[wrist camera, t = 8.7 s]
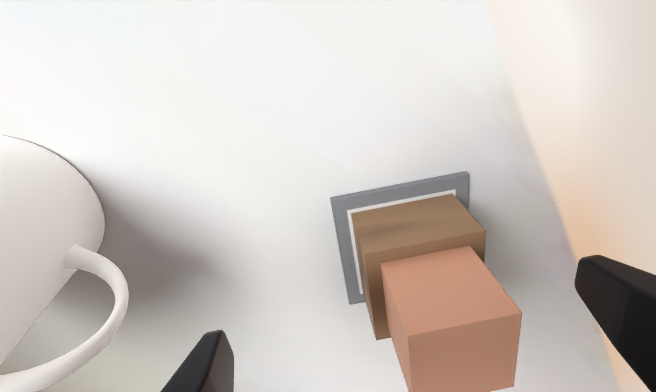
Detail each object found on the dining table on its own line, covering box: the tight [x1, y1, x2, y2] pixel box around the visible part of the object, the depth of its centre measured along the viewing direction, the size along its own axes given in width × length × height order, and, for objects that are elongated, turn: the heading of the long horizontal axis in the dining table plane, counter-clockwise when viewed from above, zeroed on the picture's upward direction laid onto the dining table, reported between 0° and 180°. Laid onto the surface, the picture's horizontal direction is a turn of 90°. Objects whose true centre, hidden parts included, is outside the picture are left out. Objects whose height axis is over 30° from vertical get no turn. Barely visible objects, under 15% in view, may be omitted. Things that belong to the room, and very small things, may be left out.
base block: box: [351, 194, 486, 340], centre depth 21 cm, size 6×6×4 cm
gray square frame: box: [330, 171, 469, 305], centre depth 23 cm, size 8×8×1 cm
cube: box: [380, 246, 522, 392], centre depth 17 cm, size 4×4×4 cm
